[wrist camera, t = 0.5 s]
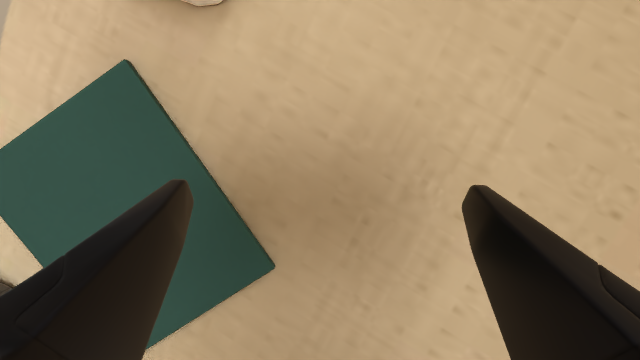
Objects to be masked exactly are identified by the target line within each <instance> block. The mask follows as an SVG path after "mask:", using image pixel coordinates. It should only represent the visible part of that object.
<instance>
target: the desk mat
mask: <svg viewBox="0 0 640 360" xmlns="http://www.w3.org/2000/svg"><path fill="white" fill-rule="evenodd" d="M172 179H185V180H186V181H187V182H188V184H189V187H190V190H191V193H192V196H193V199H194V204H193V209H192V213H191V217H190V221H189V226H188V230H187V234H186V238H185V242H184V246H183V249H182V252H181V255H180V258H179V260H178V263H177V266H176V268H175V271H174V274H173V276H172V279H171V282H170V285H169V287H168V290H167V293H166V295H165V298H164V301H163V303H162V306H161V309H160V312H159V314H158V317H157V320H156V322H155V325H154V328H153V330H152V333H151V336H150V339H149V341H148V344H147V347H146V349H148V348H149V347H151V346H152V345H154V344H156V343H157V342H159V341H160V340H162V339H163V338H165V337H167V336H168V335H170V334H171V333H173V332H175V331H176V330H178V329H179V328H181V327H182V326H184V325H186V324H187V323H189V322H190V321H192V320H194V319H195V318H197V317H198V316H200V315H202V314H203V313H205V312H206V311H208V310H209V309H211V308H213V307H214V306H216V305H217V304H219V303H221V302H222V301H224V300H225V299H227V298H228V297H230V296H232V295H233V294H235V293H236V292H238V291H240V290H241V289H243V288H244V287H246V286H247V285H249V284H251V283H252V282H254V281H255V280H257V279H259V278H260V277H262V276H263V275H265V274H266V273H268V272H270V271H271V270H273V269H274V268H275V265H274V263H273V262H272V260H271V259H270V258H269V256H268V255H267V253H266V252H265V251H264V249H263V248H262V246H261V245H260V244H259V242H258V241H257V239H256V238H255V237H254V235H253V234H252V232H251V231H250V230H249V228H248V227H247V225H246V224H245V223H244V221H243V220H242V218H241V217H240V216H239V214H238V213H237V211H236V210H235V209H234V207H233V206H232V204H231V203H230V202H229V200H228V199H227V197H226V196H225V195H224V193H223V192H222V190H221V189H220V188H219V186H218V185H217V183H216V182H215V181H214V179H213V178H212V176H211V175H210V174H209V172H208V171H207V169H206V168H205V167H204V165H203V164H202V162H201V161H200V160H199V158H198V157H197V155H196V154H195V153H194V151H193V150H192V148H191V147H190V146H189V144H188V143H187V141H186V140H185V139H184V137H183V136H182V134H181V133H180V132H179V130H178V129H177V127H176V126H175V125H174V123H173V122H172V120H171V119H170V118H169V116H168V115H167V113H166V112H165V111H164V109H163V108H162V106H161V105H160V104H159V102H158V101H157V99H156V98H155V97H154V95H153V94H152V92H151V91H150V90H149V88H148V87H147V85H146V84H145V83H144V81H143V80H142V78H141V77H140V76H139V74H138V73H137V71H136V70H135V69H134V67H133V66H132V64H131V63H130V62H129V61H128V60H125V59H124V60H123V61H121V62H120V63H119V64H117V65H116V66H114V67H113V68H112V69H110V70H109V71H107V72H106V73H105V74H103V75H102V76H101V77H99V78H98V79H96V80H95V81H94V82H92V83H91V84H90V85H88V86H87V87H85V88H84V89H83V90H81V91H80V92H79V93H77V94H76V95H74V96H73V97H72V98H70V99H69V100H67V101H66V102H65V103H63V104H62V105H61V106H59V107H58V108H56V109H55V110H54V111H52V112H51V113H50V114H48V115H47V116H45V117H44V118H43V119H41V120H40V121H38V122H37V123H36V124H34V125H33V126H32V127H30V128H29V129H27V130H26V131H25V132H23V133H22V134H21V135H19V136H18V137H16V138H15V139H14V140H12V141H11V142H10V143H8V144H7V145H5V146H4V147H3V148H1V149H0V216H1V217H2V218H3V220H4V221H5V222H6V223H7V224H8V226H9V227H10V228H11V229H12V230H13V231H14V233H15V234H16V235H17V236H18V237H19V239H20V240H21V241H22V242H23V243H24V245H25V246H26V247H27V248H28V249H29V251H30V252H31V253H32V254H33V255H34V257H35V258H36V259H37V260H38V261H39V263H40V264H41V265H42V266H43V267H44V268H45V267H46V266H48V265H49V264H50V263H52V262H53V261H55V260H56V259H58V258H59V257H61V256H62V255H64V256H65V253H66V252H68V251H69V250H71V249H72V248H74V247H75V246H76V245H78V244H79V243H81V242H82V241H84V240H85V239H87V238H88V237H89V236H91V235H92V234H94V233H95V232H97V231H98V230H99V229H101V228H102V227H104V226H105V225H107V224H108V223H110V222H111V221H112V220H114V219H115V218H117V217H118V216H120V215H121V214H122V213H124V212H125V211H127V210H128V209H130V208H131V207H133V206H134V205H135V204H137V203H138V202H140V201H141V200H143V199H144V198H145V197H147V196H148V195H150V194H151V193H153V192H154V191H156V190H157V189H158V188H160V187H161V186H163V185H164V184H166V183H167V182H168V181H170V180H172ZM146 349H145V350H146Z"/></svg>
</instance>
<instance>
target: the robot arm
mask: <svg viewBox="0 0 640 360" xmlns="http://www.w3.org/2000/svg"><path fill="white" fill-rule="evenodd" d="M193 204H194V199H193V196H192V193H191V190H190V187H189V184H188V182H187V181H186V180H185V179H172V180H170V181H168V182H167V183H166V184H164V185H163V186H161V187H160V188H158V189H157V190H156V191H154V192H153V193H151V194H150V195H148V196H147V197H145V198H144V199H143V200H141V201H140V202H138V203H137V204H135V205H134V206H133V207H131V208H130V209H128V210H127V211H125V212H124V213H122V214H121V215H120V216H118V217H117V218H115V219H114V220H112V221H111V222H110V223H108V224H107V225H105V226H104V227H102V228H101V229H99V230H98V231H97V232H95V233H94V234H92V235H91V236H89V237H88V238H87V239H85V240H84V241H82V242H81V243H79V244H78V245H76V246H75V247H74V248H72V249H71V250H69V251H68V252H66V253H65V256H64V255H62V256H61V257H59V258H58V259H56V260H55V261H53V262H52V263H50V264H49V265H48V266H46V267H45V268H43V269H42V270H40V271H39V272H37V273H36V274H34V275H33V276H31V277H30V278H28V279H27V280H25V281H24V282H22V283H20V284H19V285H17V286H16V287H14V288H13V289H11V290H9V291H8V292H6V293H5V294H3V295H1V296H0V360H142V358H143V355H144V352H145V349H146V347H147V344H148V341H149V339H150V336H151V333H152V330H153V328H154V325H155V322H156V320H157V317H158V314H159V312H160V309H161V306H162V303H163V301H164V298H165V295H166V293H167V290H168V287H169V285H170V282H171V279H172V276H173V274H174V271H175V268H176V266H177V263H178V260H179V258H180V255H181V252H182V249H183V246H184V242H185V238H186V234H187V230H188V226H189V221H190V217H191V213H192V209H193ZM462 212H463V216H464V221H465V225H466V229H467V233H468V238H469V242H470V246H471V250H472V253H473V256H474V259H475V262H476V265H477V267H478V270H479V273H480V276H481V278H482V281H483V284H484V287H485V289H486V292H487V295H488V298H489V300H490V303H491V306H492V309H493V311H494V314H495V317H496V320H497V322H498V325H499V328H500V331H501V334H502V336H503V339H504V342H505V345H506V347H507V350H508V353H509V356H510V358H511V360H640V291H638V290H637V289H635V288H634V287H632V286H631V285H629V284H628V283H626V282H625V281H623V280H622V279H620V278H619V277H617V276H616V275H614V274H613V273H612V272H610V271H609V270H607V269H606V268H604V267H603V266H602V265H598V263H597V262H596V261H594V260H593V259H591V258H590V257H588V256H587V255H586V254H584V253H583V252H581V251H580V250H578V249H577V248H575V247H574V246H573V245H571V244H570V243H568V242H567V241H565V240H564V239H562V238H561V237H560V236H558V235H557V234H555V233H554V232H552V231H551V230H549V229H548V228H547V227H545V226H544V225H542V224H541V223H539V222H538V221H536V220H535V219H534V218H532V217H531V216H529V215H528V214H526V213H525V212H524V211H522V210H521V209H519V208H518V207H516V206H515V205H513V204H512V203H511V202H509V201H508V200H506V199H505V198H503V197H502V196H500V195H499V194H498V193H496V192H495V191H493V190H492V189H490V188H489V187H487V186H485V185H473V186H471V187H470V188H469V190H468V193H467V195H466V197H465V199H464V201H463V203H462Z"/></svg>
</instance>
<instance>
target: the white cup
mask: <svg viewBox="0 0 640 360" xmlns="http://www.w3.org/2000/svg"><path fill="white" fill-rule="evenodd" d="M182 1H185V2H187V3H190V4H193V5H195V6H206V5H215V4H219V3H220V2H222V1H223V0H182Z"/></svg>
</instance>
